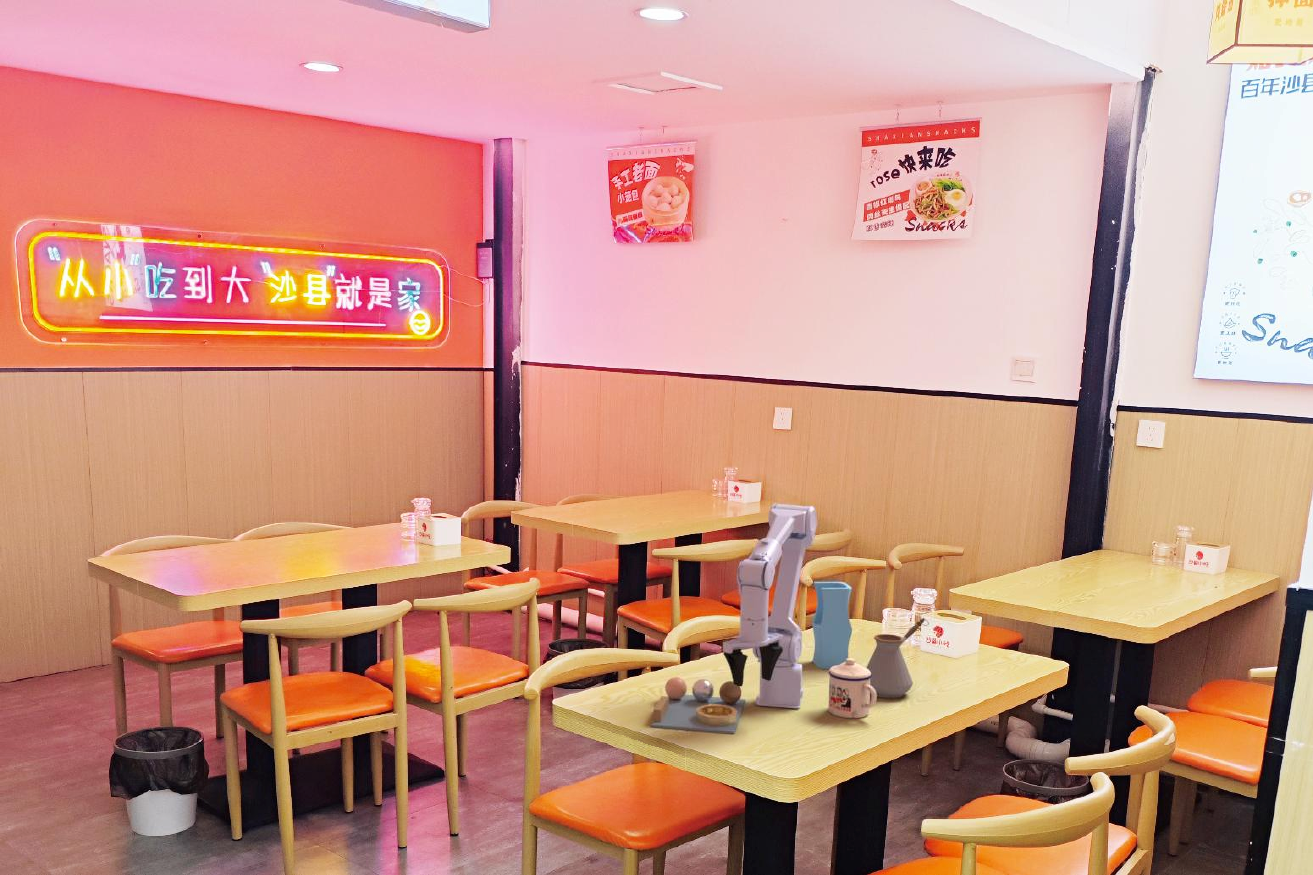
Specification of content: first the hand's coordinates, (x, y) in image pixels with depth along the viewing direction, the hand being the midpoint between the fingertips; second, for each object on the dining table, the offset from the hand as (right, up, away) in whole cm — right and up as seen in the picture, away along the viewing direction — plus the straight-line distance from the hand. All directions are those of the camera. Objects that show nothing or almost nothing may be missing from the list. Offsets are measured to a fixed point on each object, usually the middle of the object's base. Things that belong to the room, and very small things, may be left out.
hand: (752, 682), depth 222 cm
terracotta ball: (-16, -4, +13) cm, 21 cm away
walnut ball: (-4, -5, +11) cm, 13 cm away
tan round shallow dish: (-7, -8, +1) cm, 11 cm away
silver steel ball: (-10, -5, +12) cm, 16 cm away
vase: (+23, -6, +45) cm, 51 cm away
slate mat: (-11, -8, +5) cm, 14 cm away
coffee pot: (+36, -8, +26) cm, 45 cm away
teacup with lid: (+22, -9, +7) cm, 25 cm away
